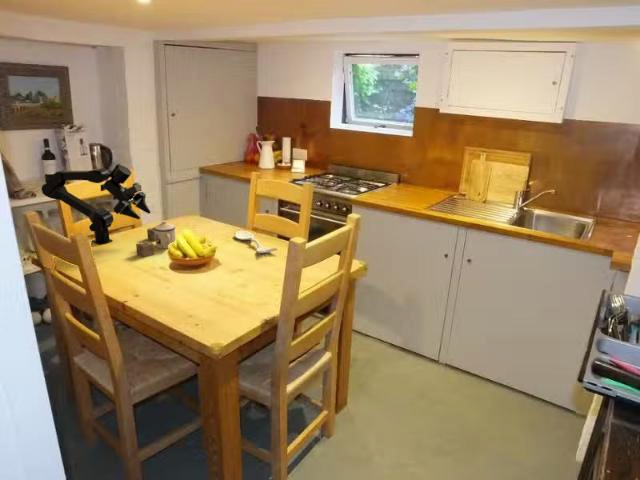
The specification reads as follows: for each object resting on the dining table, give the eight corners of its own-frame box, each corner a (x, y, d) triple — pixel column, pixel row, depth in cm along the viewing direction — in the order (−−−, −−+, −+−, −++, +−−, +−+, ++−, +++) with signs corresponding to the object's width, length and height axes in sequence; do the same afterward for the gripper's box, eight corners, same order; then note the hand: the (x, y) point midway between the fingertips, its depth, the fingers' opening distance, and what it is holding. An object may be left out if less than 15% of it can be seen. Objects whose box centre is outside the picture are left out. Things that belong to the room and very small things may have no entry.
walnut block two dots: (137, 255, 198) (136, 243, 197) (146, 251, 202) (145, 240, 201) (144, 257, 196) (143, 246, 194) (154, 254, 200) (153, 243, 198)
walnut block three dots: (147, 239, 217) (146, 228, 216) (156, 236, 221) (155, 226, 220) (154, 241, 215) (154, 231, 213) (163, 238, 219) (162, 228, 217)
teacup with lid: (153, 243, 212) (151, 219, 208) (173, 241, 216) (172, 217, 212) (159, 252, 202) (157, 227, 198) (180, 249, 206) (178, 224, 203)
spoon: (259, 258, 201) (259, 251, 200) (231, 236, 226) (231, 230, 225) (278, 255, 206) (278, 247, 205) (248, 234, 231) (248, 227, 230)
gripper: (115, 182, 191) (144, 209, 193) (138, 174, 208) (165, 198, 210) (101, 201, 195) (129, 226, 197) (125, 190, 212) (151, 214, 214)
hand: (144, 215), depth 204 cm, fingers open, 9 cm apart
